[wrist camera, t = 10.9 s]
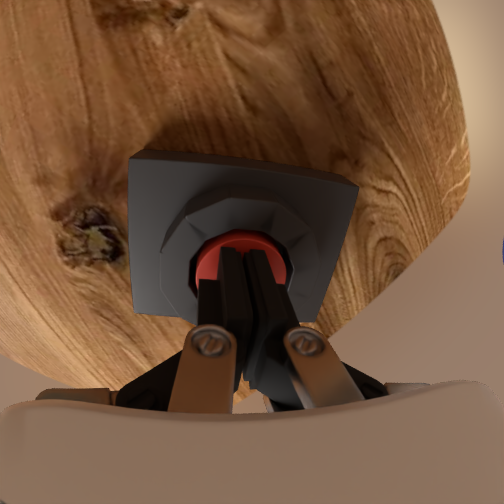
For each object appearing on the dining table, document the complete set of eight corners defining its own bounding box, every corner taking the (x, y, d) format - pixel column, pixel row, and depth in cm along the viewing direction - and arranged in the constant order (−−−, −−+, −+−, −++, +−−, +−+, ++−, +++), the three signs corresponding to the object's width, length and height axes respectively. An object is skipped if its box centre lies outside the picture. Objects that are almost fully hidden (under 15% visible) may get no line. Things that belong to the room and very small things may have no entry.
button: (285, 224, 12) (295, 243, 11) (269, 292, 14) (276, 316, 12) (200, 216, 12) (198, 234, 10) (194, 287, 13) (193, 312, 12)
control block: (341, 174, 14) (380, 200, 10) (304, 299, 18) (324, 345, 14) (141, 149, 12) (114, 167, 9) (141, 288, 16) (127, 337, 12)
